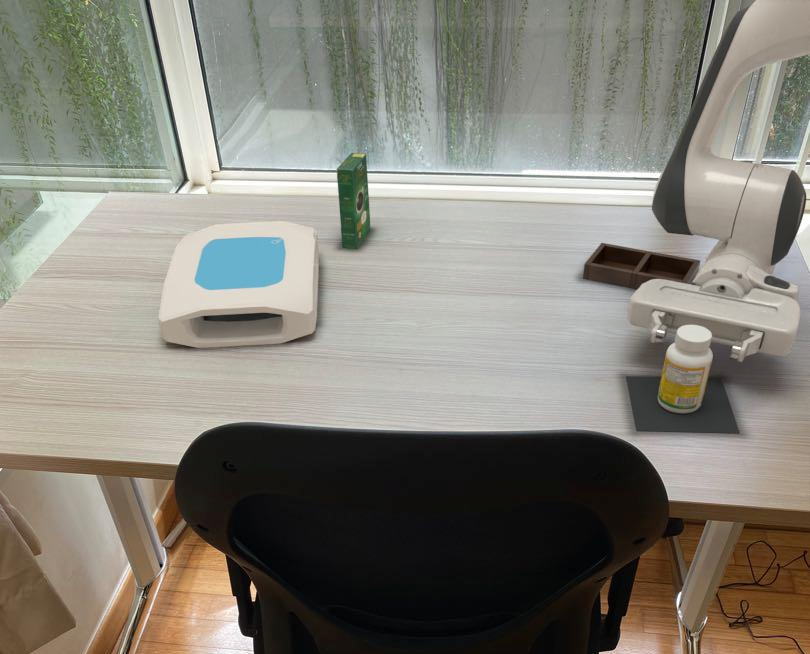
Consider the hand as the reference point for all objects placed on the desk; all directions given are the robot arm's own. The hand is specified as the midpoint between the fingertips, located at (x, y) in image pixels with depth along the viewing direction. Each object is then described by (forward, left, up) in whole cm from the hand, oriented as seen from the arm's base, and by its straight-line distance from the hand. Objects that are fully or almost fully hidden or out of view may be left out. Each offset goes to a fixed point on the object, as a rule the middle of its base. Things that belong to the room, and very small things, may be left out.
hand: (696, 346), depth 103 cm
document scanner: (+61, -25, -8) cm, 66 cm away
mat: (+1, +1, -8) cm, 8 cm away
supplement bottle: (+1, +1, -7) cm, 8 cm away
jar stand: (+2, -33, -8) cm, 34 cm away
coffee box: (+47, -46, -8) cm, 66 cm away
